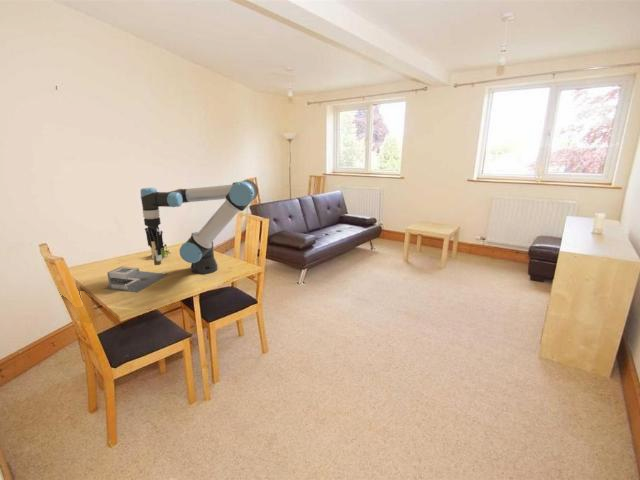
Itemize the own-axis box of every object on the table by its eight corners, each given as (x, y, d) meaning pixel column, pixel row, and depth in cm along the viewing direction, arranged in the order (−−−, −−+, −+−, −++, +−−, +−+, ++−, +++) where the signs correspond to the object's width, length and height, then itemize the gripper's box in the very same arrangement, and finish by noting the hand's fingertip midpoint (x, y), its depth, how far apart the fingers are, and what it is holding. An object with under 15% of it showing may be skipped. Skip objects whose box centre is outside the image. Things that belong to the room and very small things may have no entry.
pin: (162, 263, 171) (159, 240, 168) (158, 265, 168) (155, 242, 164) (157, 262, 172) (154, 240, 168) (152, 264, 168) (149, 241, 165)
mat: (169, 274, 176) (169, 274, 175) (137, 293, 152) (137, 292, 152) (139, 271, 178) (139, 271, 178) (103, 289, 155) (103, 288, 155)
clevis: (140, 283, 162) (138, 268, 160) (127, 290, 154) (125, 274, 151) (123, 281, 164) (121, 266, 161) (109, 288, 155) (107, 272, 153)
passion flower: (156, 264, 207) (153, 247, 210) (173, 260, 209) (170, 243, 213) (150, 259, 196) (148, 242, 199) (169, 255, 199) (166, 238, 202)
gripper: (167, 218, 161) (172, 260, 168) (150, 214, 170) (155, 255, 177) (153, 220, 155) (158, 264, 162) (136, 216, 164) (142, 258, 171)
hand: (157, 259), depth 169 cm, fingers closed on pin, 3 cm apart
